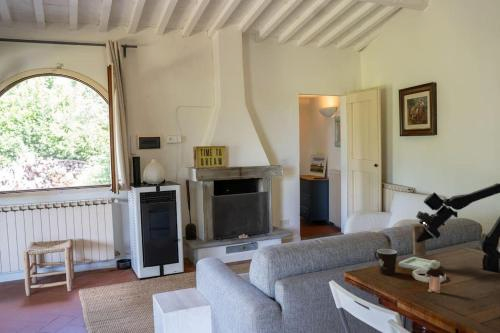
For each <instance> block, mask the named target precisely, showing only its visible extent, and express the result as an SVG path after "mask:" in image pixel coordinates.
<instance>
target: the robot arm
mask: <svg viewBox="0 0 500 333" xmlns="http://www.w3.org/2000/svg"><path fill="white" fill-rule="evenodd" d="M498 194H500V183H498V182H497V183H494V184H492V185H490V186H487V187H483V188H481V189H479V190H475V191H472V192H470V193H466V194H464V193H463V194H458V195H453V196H451V197H450V198H445V199H444V198H443V199H442V197H440V196H439V195H438V194H437V193H436V192H433V193H432V194H430V195H428V196H427V197H426V198H425V199H424V200H423V203H424V204H425V206H427V207H429V209H430V210H432V211H436V212H435V213H431V214H430V213H428V212H426V211H425V212H422V211H418V212H417V214H416V216H415V217H416V218H417V219H419V221H418V224H423V225H424V226H425V228H424V227H423V233H422V234H421V235H420V237H419V238H418V239H417V241H416V242H418V243H419V242H422V241H425V242H426V241H427V240H428V241H429V240H431V239H439V238H440V237H441V232H440V231H439V229H440V228H441V227H442V226H443V227H444V226H445V225H446V222H447V221H448V220H450V218H451V217H455V218H458V213H459V212H458V211H460V210H462V209H465V208H466V207H467V206H469V205H471V204H472V203H475V202H477V201H480V200H483V199H487V198H489V197H493V196H494V195H495V196H496V195H498ZM499 243H500V215H499V216H498V218H497V219H496V221H495V223H494V225H493V226H492V228H491V229H490V230H489V232H488V233H486V234H485V233H482V235H481V237H480V238H479V239H478V247H479V249H480V250H481V251H482V252H483V253H484V254H483V258H482V261H481V262H482V268H481V269H482V270H483V271H489V272H494V273H499V272H500V251H499V250H498V247H499Z"/></svg>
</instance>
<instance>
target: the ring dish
mask: <svg viewBox="0 0 500 333" xmlns="http://www.w3.org/2000/svg"><path fill="white" fill-rule="evenodd" d="M428 270H429V269H417V270H411V271H412V272H411V273H412V277H413V278H414V279H415V280H417V281H419V282H423V283H430V276H428V277H427V278H426V277H425V275H424V274H426V272H427V271H428ZM421 274H422V275H421ZM439 277H440V283H442V282H445V281H446V280H444V279H443V277H442V276H440V275H439ZM445 277H446V278H447V274H445Z"/></svg>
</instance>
